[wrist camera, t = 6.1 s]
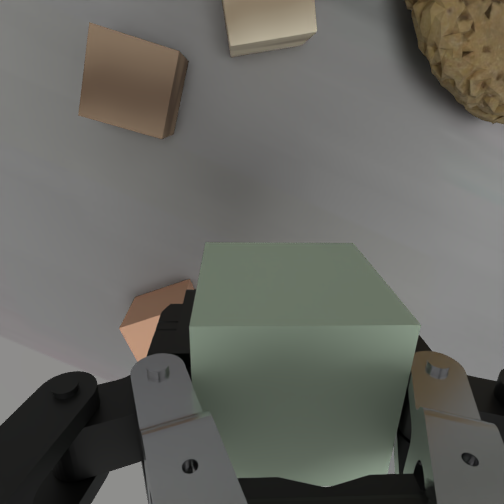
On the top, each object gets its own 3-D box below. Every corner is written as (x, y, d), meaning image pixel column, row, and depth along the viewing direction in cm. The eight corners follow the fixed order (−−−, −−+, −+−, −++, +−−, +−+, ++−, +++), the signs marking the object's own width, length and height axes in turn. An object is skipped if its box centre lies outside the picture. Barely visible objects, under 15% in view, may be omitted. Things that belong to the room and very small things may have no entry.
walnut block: (115, 38, 25) (89, 22, 21) (188, 61, 26) (179, 51, 21) (105, 114, 27) (78, 115, 22) (173, 134, 28) (162, 139, 23)
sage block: (205, 242, 13) (189, 326, 8) (352, 243, 13) (420, 325, 8) (208, 364, 14) (196, 490, 10) (337, 362, 15) (385, 484, 10)
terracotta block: (135, 296, 32) (119, 328, 28) (189, 278, 32) (182, 307, 27) (159, 342, 34) (147, 379, 29) (210, 326, 34) (207, 360, 29)
